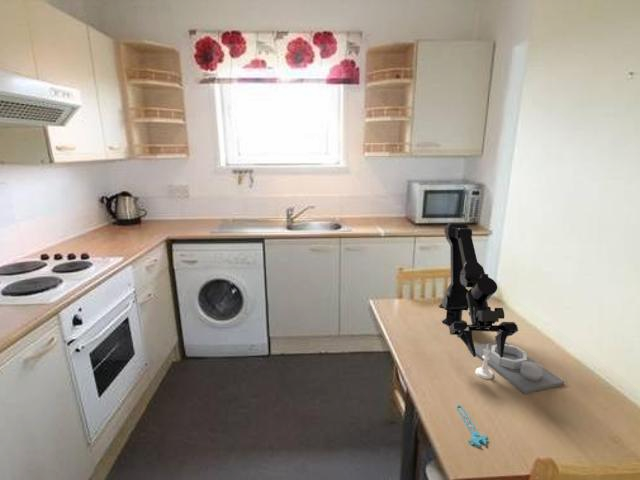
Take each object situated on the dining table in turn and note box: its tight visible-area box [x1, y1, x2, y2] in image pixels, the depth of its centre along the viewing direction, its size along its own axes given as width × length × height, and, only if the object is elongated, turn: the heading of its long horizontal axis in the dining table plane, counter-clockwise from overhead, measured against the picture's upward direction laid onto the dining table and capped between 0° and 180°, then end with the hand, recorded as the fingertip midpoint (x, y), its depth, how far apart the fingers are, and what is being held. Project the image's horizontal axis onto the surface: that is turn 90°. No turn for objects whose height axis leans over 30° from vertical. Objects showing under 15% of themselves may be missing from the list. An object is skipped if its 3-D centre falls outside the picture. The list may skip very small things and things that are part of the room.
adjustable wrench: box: [455, 405, 489, 448], centre depth 91 cm, size 14×1×5 cm
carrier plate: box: [474, 341, 565, 395], centre depth 115 cm, size 24×14×4 cm, turn 16°
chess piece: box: [475, 343, 494, 380], centre depth 110 cm, size 5×5×10 cm
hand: (488, 357), depth 108 cm, fingers open, 7 cm apart
